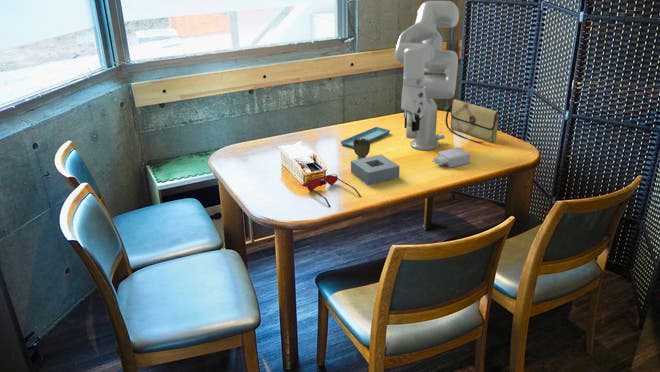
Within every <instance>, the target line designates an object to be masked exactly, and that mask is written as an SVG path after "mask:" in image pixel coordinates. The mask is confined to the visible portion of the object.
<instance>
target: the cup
mask: <svg viewBox="0 0 660 372" xmlns="http://www.w3.org/2000/svg"><path fill="white" fill-rule="evenodd" d="M371 143H372V142H371V141H370V139H369V140H368V139H367V140H365V138H364V139H363V138H362V139H361V140H360V138H359V140H358V139H355V140H354V142H353V145H354V148H353V151H354V154H355V155H356V156H357V159H362V158H367V155H369V153H370V149H371Z"/></svg>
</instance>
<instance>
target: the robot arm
mask: <svg viewBox="0 0 660 372" xmlns="http://www.w3.org/2000/svg"><path fill="white" fill-rule="evenodd" d="M459 18H460V12H459V8H458V6H457V5H456V4H455V3H454V2H453V1H449V0H427V1H424V2H422V4H421V5H420V6H419V8H418V10H417V12H416V18H415V22H414V24H413V25H411V26H410V27H408V28H407V29H405V30H404V31H402V32H401V34H400V35H399V37H398V39H397V43H396V47H395V50H394V58H395V60H396V62H398V63H400V64H403V77H402V78H403V79H402V81H403V82H402V89H401V99H400V103H401V105H400V108H401V110H402V112H403V117H404V128H405V129H407V111H408V112H411V113H412V114H413V121H412V132H414V131H417V138H415V139H411V141H410V144H409V145H410V147H411V148H414V149H416V150H420V151H421V150H422V151H429V150H431V151H432V150H435V149H437V148H438V147H439V146H440V144H439V140H444V139H445V134H439V133H437V122H438V120H437V118H438V106H437V103H436V102H435V101H434V99H440V100H442V99H443V100H450V99H452V98H454V96H455V94H456V88H457V77H458V67H459V57H458V53H456V51H454V50H448V49H447V50H443V49H442V48H443V47H442V46H443V37H442V35H441V34H440V32H439V31H438V30H437V28H454V27H456V26H457V25H458V23H459ZM425 73H436V74H445V75H433V74H432V75H431V74H427V75H426V74H425ZM417 111H418V112H417ZM417 114H418V116H416V115H417Z"/></svg>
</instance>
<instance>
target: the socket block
mask: <svg viewBox="0 0 660 372" xmlns="http://www.w3.org/2000/svg"><path fill="white" fill-rule="evenodd" d="M400 168H401V167H400V165H399V164H397V163H396V162H395V161H392V160H391V159H390V158H388V157H386V156H385V155H383V154H378V155H371V156H369V157H367V156H366V158H362V159H358V158H357V159H353V160H350V173H351V174H353V175H354V176H355V177H356V178H358V179H359V180H361V181H362V182H363V183H365V184H366V185H367V186H369V185H374V184H378V183H379V184H380V183H383V182H387V181H391V180H395V179H400Z"/></svg>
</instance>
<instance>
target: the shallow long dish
mask: <svg viewBox="0 0 660 372" xmlns="http://www.w3.org/2000/svg"><path fill="white" fill-rule="evenodd" d="M390 132H391V129H387V128H384V127H380V126H374V127H371V128H369V129H367V130H364V131H362V132H360V133H358V134H355V135H353V136H350V137H347V138H345V139H343V140H341V141H340V144H341V145H342V146H344V147H348V148H351V149H354V145H353V142H354V140H355V139H358V140H359V138H360V140H361V139H362V138H363V139H364V138H365V140H367V139H368V140H369V139H370V141H371V142H370V143H372V142H374V141H377V140H379V139H382V138H384V137H386V136H388V135H389V134H390Z"/></svg>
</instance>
